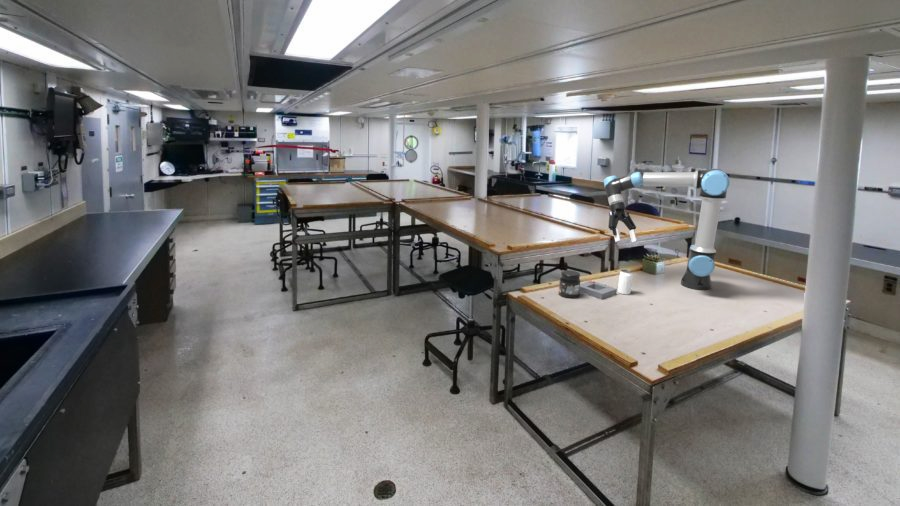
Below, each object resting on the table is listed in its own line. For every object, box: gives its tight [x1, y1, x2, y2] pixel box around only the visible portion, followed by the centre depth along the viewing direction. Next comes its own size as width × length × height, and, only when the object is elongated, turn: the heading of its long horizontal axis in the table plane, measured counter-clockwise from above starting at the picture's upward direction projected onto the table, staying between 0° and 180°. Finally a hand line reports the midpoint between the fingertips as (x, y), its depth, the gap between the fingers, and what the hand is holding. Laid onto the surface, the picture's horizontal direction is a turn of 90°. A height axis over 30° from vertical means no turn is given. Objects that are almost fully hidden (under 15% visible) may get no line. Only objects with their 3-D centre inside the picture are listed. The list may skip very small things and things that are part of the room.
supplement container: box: [558, 269, 581, 299], centre depth 239 cm, size 10×10×12 cm
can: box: [617, 269, 634, 296], centre depth 244 cm, size 6×6×12 cm
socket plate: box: [579, 279, 618, 300], centre depth 245 cm, size 16×13×4 cm
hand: (626, 241), depth 246 cm, fingers open, 13 cm apart
